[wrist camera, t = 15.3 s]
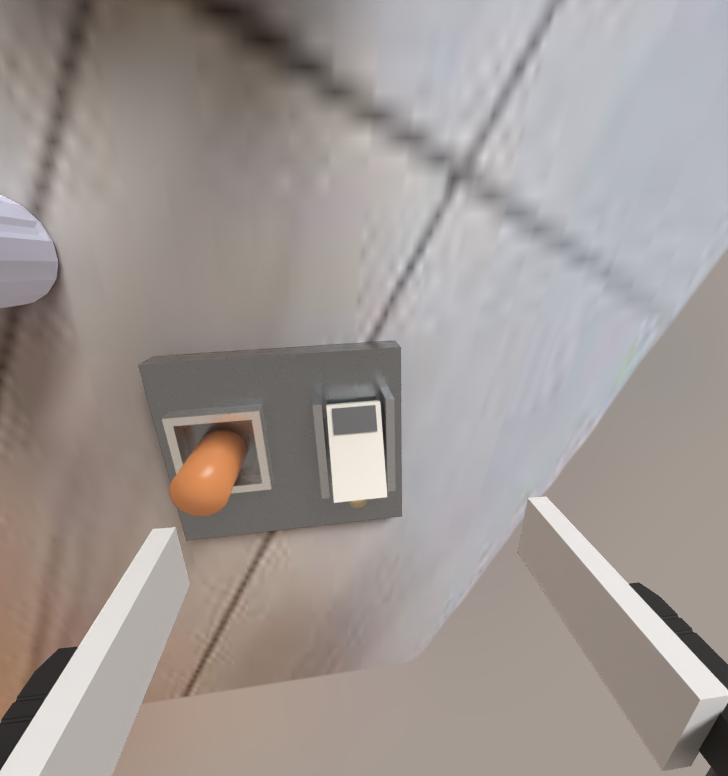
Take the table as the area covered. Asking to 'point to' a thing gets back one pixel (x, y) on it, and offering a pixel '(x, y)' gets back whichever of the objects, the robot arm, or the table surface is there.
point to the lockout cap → (209, 473)
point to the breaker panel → (276, 428)
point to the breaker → (356, 451)
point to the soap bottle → (24, 256)
